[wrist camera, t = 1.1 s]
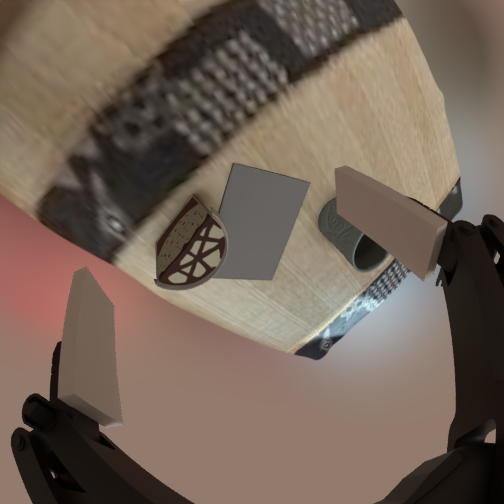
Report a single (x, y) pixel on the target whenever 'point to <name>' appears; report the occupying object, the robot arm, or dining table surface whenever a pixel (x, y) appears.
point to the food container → (191, 247)
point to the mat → (258, 220)
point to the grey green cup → (350, 240)
